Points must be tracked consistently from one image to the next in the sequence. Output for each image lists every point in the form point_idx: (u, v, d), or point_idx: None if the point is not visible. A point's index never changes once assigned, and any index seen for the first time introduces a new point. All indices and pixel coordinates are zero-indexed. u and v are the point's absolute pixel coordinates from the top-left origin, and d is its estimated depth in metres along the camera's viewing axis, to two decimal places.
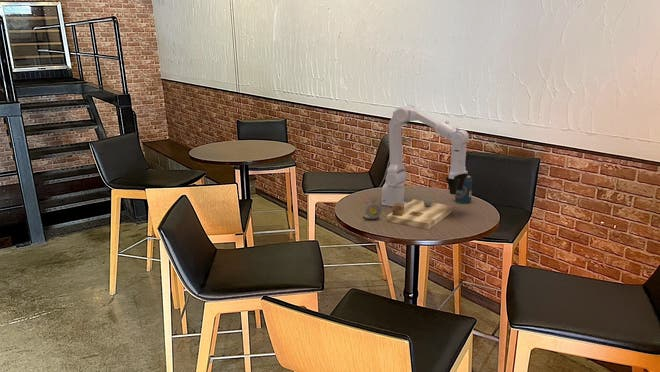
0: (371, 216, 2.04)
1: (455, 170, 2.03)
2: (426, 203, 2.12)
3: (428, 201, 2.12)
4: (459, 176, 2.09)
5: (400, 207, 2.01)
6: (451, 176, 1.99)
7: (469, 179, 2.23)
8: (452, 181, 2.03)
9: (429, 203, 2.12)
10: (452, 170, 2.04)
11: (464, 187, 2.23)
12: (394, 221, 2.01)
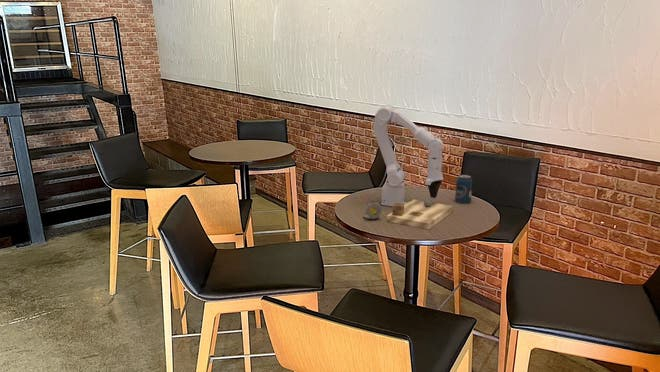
0: (371, 216, 2.04)
1: (432, 177, 2.13)
2: (426, 203, 2.12)
3: (428, 201, 2.12)
4: None
5: (400, 207, 2.01)
6: (427, 182, 2.10)
7: (469, 179, 2.23)
8: (432, 185, 2.16)
9: (429, 203, 2.12)
10: (429, 177, 2.14)
11: (464, 187, 2.23)
12: (394, 221, 2.01)
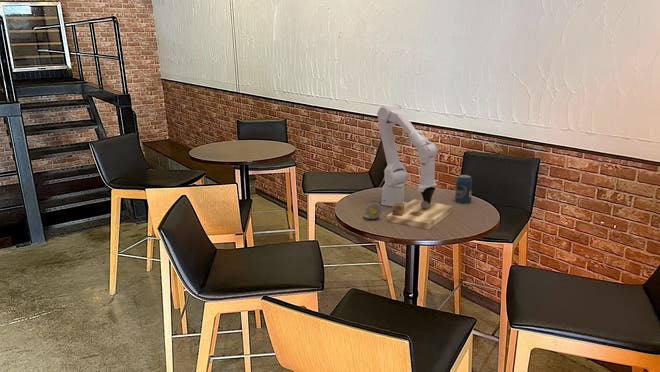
0: (371, 216, 2.04)
1: (425, 183, 2.06)
2: None
3: None
4: (426, 191, 2.10)
5: (400, 207, 2.01)
6: (420, 189, 2.03)
7: (469, 179, 2.23)
8: (426, 192, 2.09)
9: None
10: (422, 183, 2.07)
11: (464, 187, 2.23)
12: (394, 221, 2.01)
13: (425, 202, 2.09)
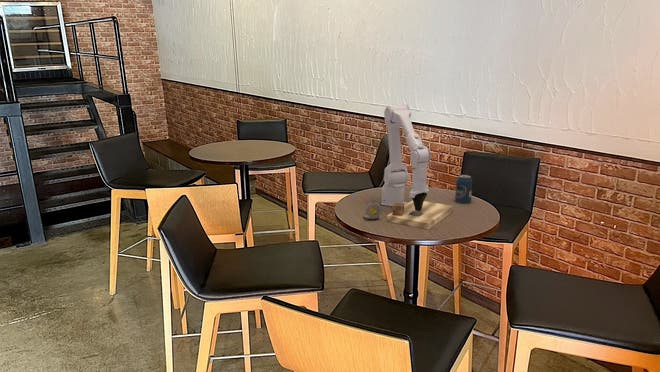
0: (371, 216, 2.04)
1: (416, 189, 2.01)
2: None
3: None
4: (418, 196, 2.04)
5: (400, 207, 2.01)
6: (411, 195, 1.98)
7: (469, 179, 2.23)
8: (417, 197, 2.04)
9: None
10: (413, 188, 2.02)
11: (464, 187, 2.23)
12: (394, 221, 2.01)
13: (417, 211, 2.05)
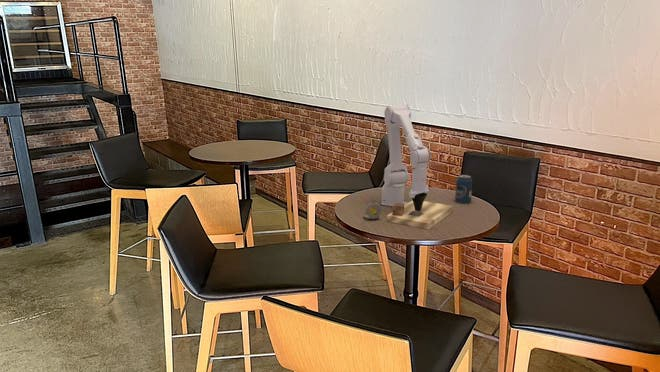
0: (371, 216, 2.04)
1: (416, 189, 2.01)
2: None
3: None
4: (418, 196, 2.04)
5: (400, 207, 2.01)
6: (411, 195, 1.97)
7: (469, 179, 2.23)
8: (416, 198, 2.04)
9: None
10: (413, 189, 2.02)
11: (464, 187, 2.23)
12: (394, 221, 2.01)
13: (417, 211, 2.04)
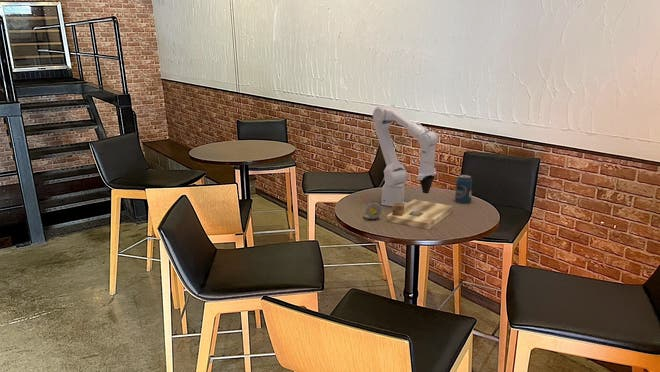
0: (371, 216, 2.04)
1: (424, 171, 2.05)
2: None
3: None
4: None
5: (400, 207, 2.01)
6: (420, 177, 2.02)
7: (469, 179, 2.23)
8: (424, 180, 2.08)
9: None
10: (421, 171, 2.06)
11: (464, 187, 2.23)
12: (394, 221, 2.01)
13: (416, 211, 2.04)
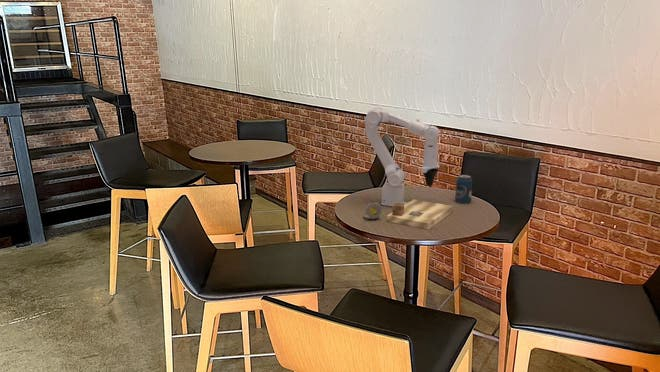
0: (371, 216, 2.04)
1: (428, 164, 2.13)
2: None
3: None
4: None
5: (400, 207, 2.01)
6: (423, 170, 2.10)
7: (469, 179, 2.23)
8: (428, 173, 2.16)
9: None
10: (425, 165, 2.14)
11: (464, 187, 2.23)
12: (394, 221, 2.01)
13: (415, 212, 2.03)
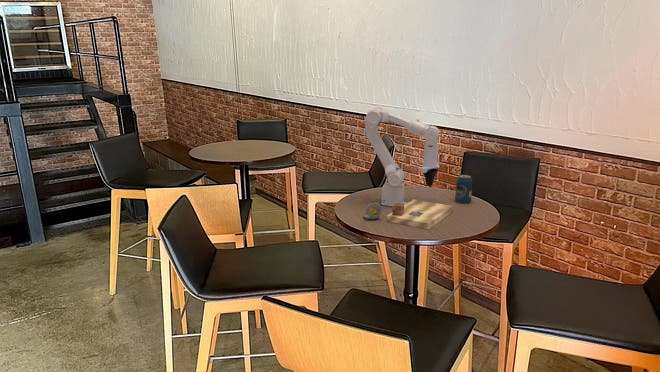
0: (371, 216, 2.04)
1: (428, 164, 2.13)
2: None
3: None
4: None
5: (400, 207, 2.01)
6: (423, 170, 2.10)
7: (469, 179, 2.23)
8: (428, 173, 2.16)
9: None
10: (425, 165, 2.14)
11: (464, 187, 2.23)
12: (394, 221, 2.01)
13: (415, 213, 2.03)
